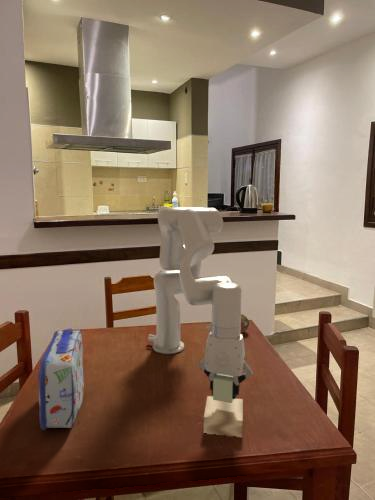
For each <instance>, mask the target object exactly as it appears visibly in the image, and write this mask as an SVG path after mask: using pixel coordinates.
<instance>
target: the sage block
mask: <svg viewBox="0 0 375 500" xmlns="http://www.w3.org/2000/svg"><path fill="white" fill-rule="evenodd" d="M233 384H234V379H233V376H229V375H223V374H218V373H216V375H215V377H214V378H213V395H212V397H213V400H217V401H222V402H227V403H232V401H233V398H232V397H233Z"/></svg>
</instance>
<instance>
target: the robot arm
mask: <svg viewBox="0 0 375 500" xmlns="http://www.w3.org/2000/svg"><path fill="white" fill-rule="evenodd" d="M157 215H158V216H157V223H158V226H159V230H160V235H161V237H160V246H159V247H160V248H159V264H160V265H159V266H160V267H161V268H162V269H163V270H162V271H161V270H160V271H158V272H157V273H156V274H154V277H153V286H154V287H153V288H154V292H155V305H156V307H155V308H156V309H155V311H156V315H155V316H156V319H155V320H156V324H155V325H156V334H151V333H149V334H148V335H147V339H148V340H147V341H148V342H153V344H152V349H153V350H154V352H156V353H159V354H162V355H172V354H177V353H179V352H182V351H183V350H184V349H185V343H184V342H183V341H181V303H180V301H179V300H178V299H177V298H176V297H175V295H180V294H183V296H184V299H185V301H186V302H187V304H189V305H191V306H206V305H211V322H210V323H208V322H207V323H206V325H205V327H206V329H208V330H210V332H209V333H208V335H207V339H206V344H205V345H206V346H205V352H204V353H205V355H204V358H203V359H202V360H201V361H199V363H198V365H197V367H198V368H199V369H200V370H202V371H203V373H204V374H205V375H206V376H207V378H208V380H209V390H211V395H212V396H213V378H214V377H215V375H216V373H218V374H223V375H229V376H233V379H234V384H233V397H232V398H233V399H237V396H239V395H240V386H241V383H243V382H244V381H245V380H246V379H249V378H250V377H251V376H253V374H254V371H253V370H252V367H250V366H249V364H248V363H247V361H246V351H245V350H246V349H245V341H244V336H243V334H242V333H240V329H241V314H242V287H241V286H240V285H239V284H238V283H235V282H234V281H233V280H232V279H231V277H229V276H227V275H217V276H216V275H215V276H203V277H201V276H200V274H201V265H202V261H203V260H205V259H207V258H208V257H210V256H211V255H212V254H213V252H214V250H215V243H214V240H213V239H212V236H211V235H215V234H216V235H217V234H219V233H220V232H221V231H222V230H223V228H224V220H223V216H222V214H221V212H220V211H219V210H218V209H216V208H215V207H203V206H195V207H194V206H191V207H190V206H187V207H186V206H172V207H169V206H168V207H163V208H161V210H159V213H158V214H157Z"/></svg>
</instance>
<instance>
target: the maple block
mask: <svg viewBox="0 0 375 500" xmlns="http://www.w3.org/2000/svg"><path fill="white" fill-rule="evenodd" d="M243 406H244V399H243V398H235V399H233V401H232V403H227V402H222V401H217V400H213V395H212V396H211V395H207V396H206V402H205V407H204V409H205V410H204V414H203V434H204V433H207V434H206V435H213V434H216V435H215V436H223V435H226V436H225V437H233V436H236V438H243V426H244V425H243V423H244V422H243V421H244V418H243V417H244V415H243V414H244V412H243V411H244V409H243V408H244V407H243Z"/></svg>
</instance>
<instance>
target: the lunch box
mask: <svg viewBox="0 0 375 500" xmlns="http://www.w3.org/2000/svg"><path fill="white" fill-rule="evenodd" d="M83 351H84V347H83V341H82V332H81V330H72V328H66V329H63V330H58V331H57V330H56V331H54V333H53V336H52V338H51V341H50V343H49V344H48V346H47V348H46V350H45V352H44V354H43V356H42V357H41V361H40V367H39V371H38V377H37V378H38V379H37V380H38V386H39V387H38V407H39V408H38V409H39V412H38V413H39V426H40V427H39V428H40V429H41V431H42V430H43V431H46V430H47V428H49V429H51V428H53V429H56V428H57V429H59V428H64V429H65V428H66V429H67V428H68V429H71V428H73V425H74V423H75V420H76V419H77V416H78V414H79V411H80V408H81V406H82V404H83V400H84V399H83V397H84V391H85V387H84V386H85V384H84V383H85V381H84V353H83Z"/></svg>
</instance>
